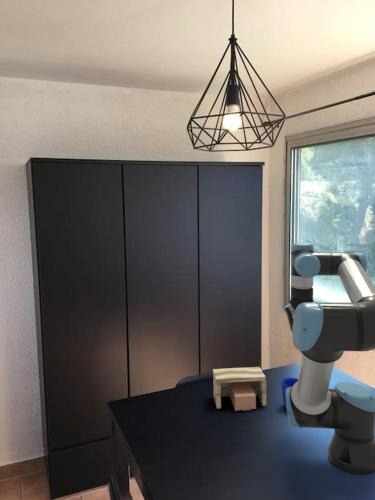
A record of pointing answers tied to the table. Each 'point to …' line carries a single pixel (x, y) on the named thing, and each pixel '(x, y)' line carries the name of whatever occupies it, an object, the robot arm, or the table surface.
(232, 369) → the shelf nook
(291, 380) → the mug
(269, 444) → the table surface
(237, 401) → the tan brown block
